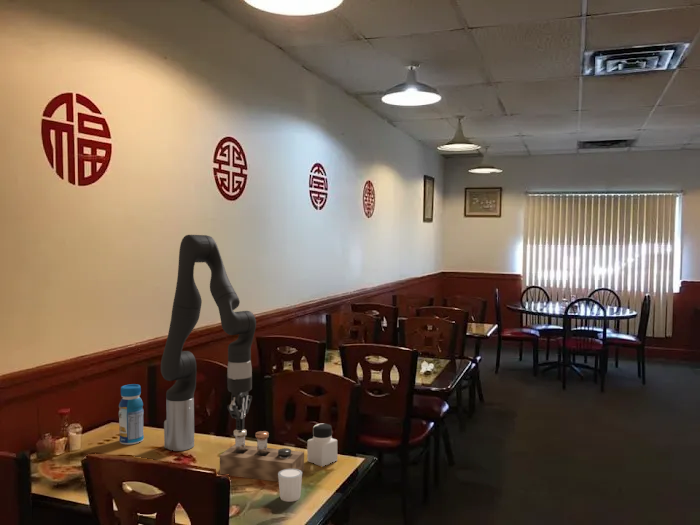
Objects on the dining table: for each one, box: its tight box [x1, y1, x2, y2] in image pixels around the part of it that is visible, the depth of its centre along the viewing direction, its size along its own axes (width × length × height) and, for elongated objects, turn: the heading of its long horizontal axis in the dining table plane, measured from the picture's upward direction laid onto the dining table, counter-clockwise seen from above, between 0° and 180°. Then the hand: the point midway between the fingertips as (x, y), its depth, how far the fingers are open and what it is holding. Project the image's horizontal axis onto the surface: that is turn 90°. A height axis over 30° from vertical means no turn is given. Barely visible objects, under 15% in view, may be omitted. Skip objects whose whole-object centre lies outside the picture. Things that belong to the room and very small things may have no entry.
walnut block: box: [219, 444, 305, 483], centre depth 185 cm, size 24×10×6 cm, turn 74°
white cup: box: [278, 469, 303, 503], centre depth 167 cm, size 7×7×7 cm
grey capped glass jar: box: [278, 447, 292, 459], centre depth 183 cm, size 4×4×7 cm
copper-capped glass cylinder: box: [255, 430, 270, 456], centre depth 185 cm, size 4×4×7 cm
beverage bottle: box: [118, 383, 145, 446], centre depth 213 cm, size 8×8×20 cm
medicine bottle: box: [306, 423, 338, 468], centre depth 194 cm, size 7×7×12 cm
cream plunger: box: [233, 428, 248, 454], centre depth 187 cm, size 4×4×7 cm
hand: (240, 429), depth 187 cm, fingers closed
